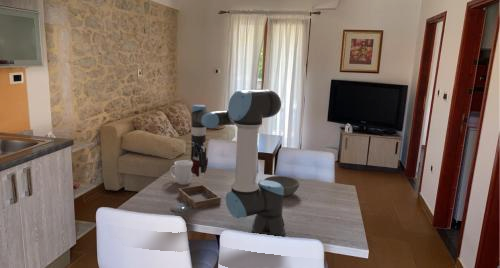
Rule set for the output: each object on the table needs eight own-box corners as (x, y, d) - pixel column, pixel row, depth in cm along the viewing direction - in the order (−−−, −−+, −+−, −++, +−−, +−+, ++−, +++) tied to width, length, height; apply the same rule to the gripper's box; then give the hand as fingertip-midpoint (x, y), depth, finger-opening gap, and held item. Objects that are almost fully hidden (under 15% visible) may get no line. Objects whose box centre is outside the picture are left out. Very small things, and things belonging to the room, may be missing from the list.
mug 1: (165, 183, 219) (165, 162, 216) (175, 178, 229) (175, 158, 226) (187, 187, 214) (187, 166, 211) (195, 181, 224) (196, 161, 221)
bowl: (279, 204, 195) (280, 190, 193) (254, 192, 210) (255, 179, 208) (305, 196, 208) (306, 183, 206) (280, 185, 223) (281, 173, 222)
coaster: (193, 209, 183) (193, 208, 183) (174, 213, 178) (174, 212, 178) (185, 202, 192) (185, 201, 191) (167, 206, 186) (167, 205, 186)
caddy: (220, 204, 192) (220, 197, 191) (194, 209, 183) (194, 202, 183) (203, 190, 209) (203, 184, 208) (178, 195, 201) (178, 188, 200)
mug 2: (199, 181, 186) (200, 163, 184) (186, 177, 190) (186, 159, 187) (210, 174, 196) (210, 157, 193) (197, 171, 199) (198, 154, 196)
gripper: (213, 137, 181) (213, 180, 186) (197, 130, 198) (196, 169, 203) (200, 139, 177) (199, 182, 182) (184, 131, 194) (184, 171, 199)
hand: (198, 175), depth 192 cm, fingers closed on mug 2, 8 cm apart
